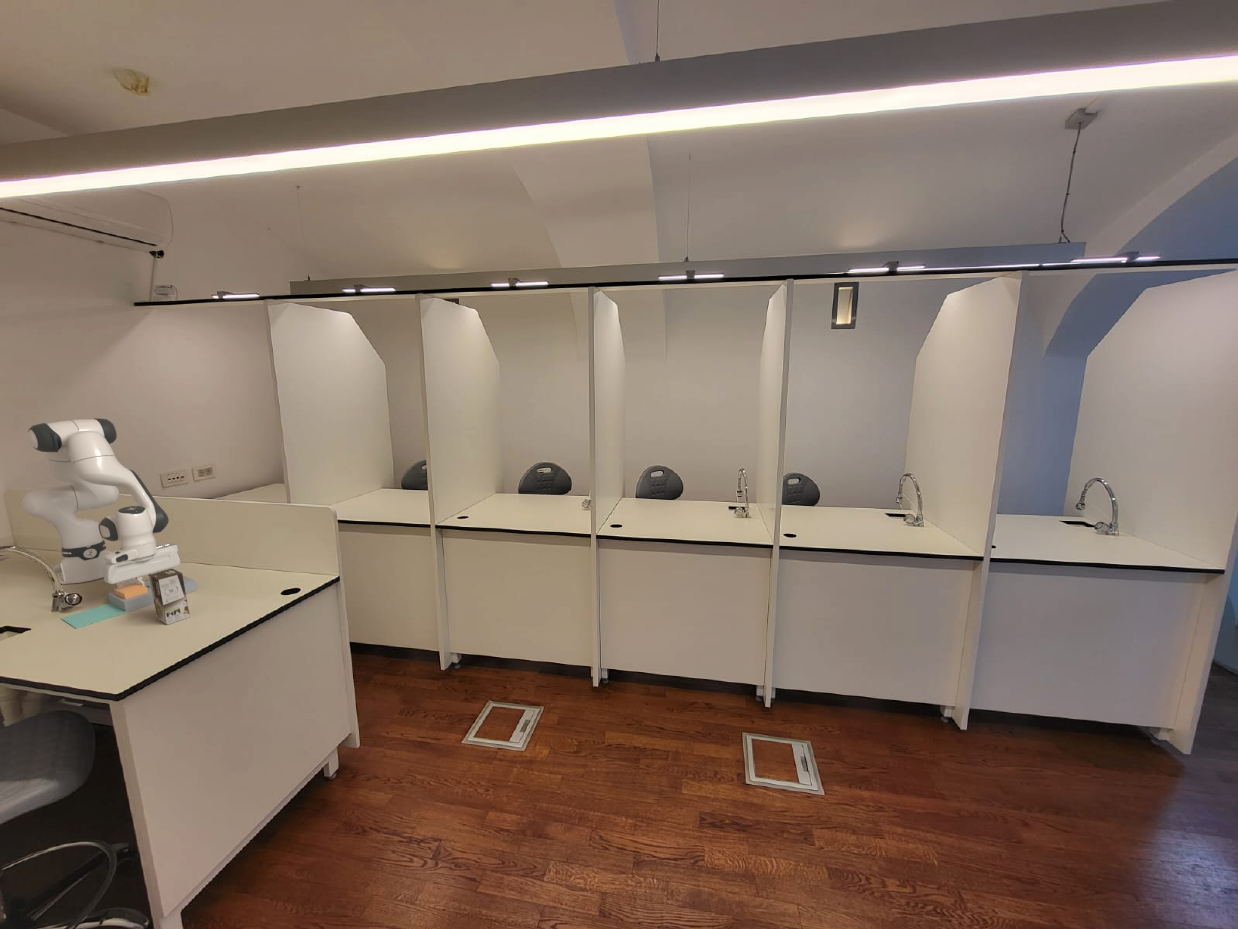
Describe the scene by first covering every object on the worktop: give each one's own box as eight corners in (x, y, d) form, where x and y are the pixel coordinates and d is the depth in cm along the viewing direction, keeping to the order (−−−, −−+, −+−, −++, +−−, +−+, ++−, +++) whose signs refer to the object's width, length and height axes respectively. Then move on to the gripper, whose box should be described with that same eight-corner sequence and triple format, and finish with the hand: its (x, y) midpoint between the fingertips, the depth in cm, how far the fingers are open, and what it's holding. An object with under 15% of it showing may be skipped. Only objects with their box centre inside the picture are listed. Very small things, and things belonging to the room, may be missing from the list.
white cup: (114, 594, 179) (109, 569, 178) (118, 587, 185) (113, 563, 184) (143, 588, 184) (138, 564, 183) (146, 582, 190) (141, 558, 188)
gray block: (110, 604, 172) (108, 593, 171) (180, 583, 189) (178, 573, 189) (126, 612, 165) (124, 602, 165) (196, 590, 183) (195, 580, 182)
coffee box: (191, 617, 162) (183, 573, 159) (166, 625, 157) (157, 580, 154) (180, 610, 167) (172, 567, 164) (156, 618, 161) (147, 574, 159)
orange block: (114, 594, 171) (113, 589, 170) (137, 587, 176) (136, 582, 176) (125, 599, 167) (124, 594, 166) (148, 592, 172) (147, 587, 172)
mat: (61, 619, 161) (61, 618, 161) (110, 604, 172) (110, 603, 172) (76, 628, 155) (76, 627, 155) (126, 612, 165) (126, 611, 165)
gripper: (172, 540, 183) (178, 573, 186) (97, 558, 165) (105, 595, 168) (180, 542, 180) (186, 576, 183) (105, 561, 162) (113, 598, 165)
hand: (147, 585), depth 175 cm, fingers closed
